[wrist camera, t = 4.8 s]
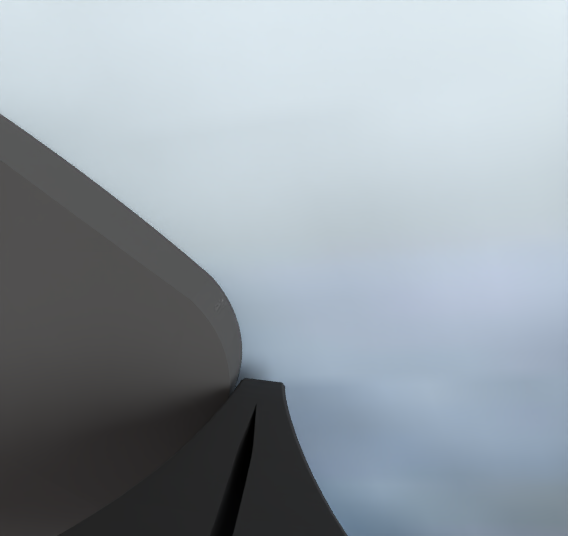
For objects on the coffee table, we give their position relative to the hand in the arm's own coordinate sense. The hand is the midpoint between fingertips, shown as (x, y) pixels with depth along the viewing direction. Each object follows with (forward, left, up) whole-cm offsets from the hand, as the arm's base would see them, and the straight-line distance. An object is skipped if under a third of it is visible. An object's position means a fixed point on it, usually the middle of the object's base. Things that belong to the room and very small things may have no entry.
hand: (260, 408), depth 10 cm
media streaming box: (0, +9, -2) cm, 10 cm away
